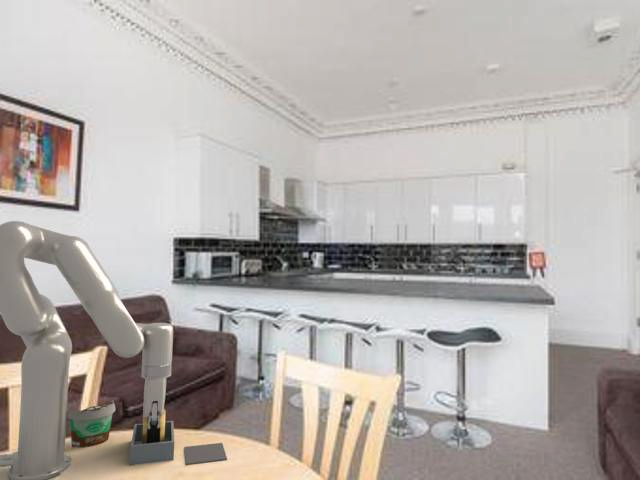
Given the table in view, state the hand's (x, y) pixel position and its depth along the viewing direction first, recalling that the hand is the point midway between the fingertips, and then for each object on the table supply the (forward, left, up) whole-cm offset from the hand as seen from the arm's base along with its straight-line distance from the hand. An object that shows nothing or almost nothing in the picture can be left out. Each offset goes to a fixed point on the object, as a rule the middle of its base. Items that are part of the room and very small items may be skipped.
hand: (153, 437), depth 114 cm
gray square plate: (+13, -6, -4) cm, 15 cm away
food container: (-15, +9, -4) cm, 18 cm away
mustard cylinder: (0, 0, -3) cm, 3 cm away
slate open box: (0, 0, -4) cm, 4 cm away
